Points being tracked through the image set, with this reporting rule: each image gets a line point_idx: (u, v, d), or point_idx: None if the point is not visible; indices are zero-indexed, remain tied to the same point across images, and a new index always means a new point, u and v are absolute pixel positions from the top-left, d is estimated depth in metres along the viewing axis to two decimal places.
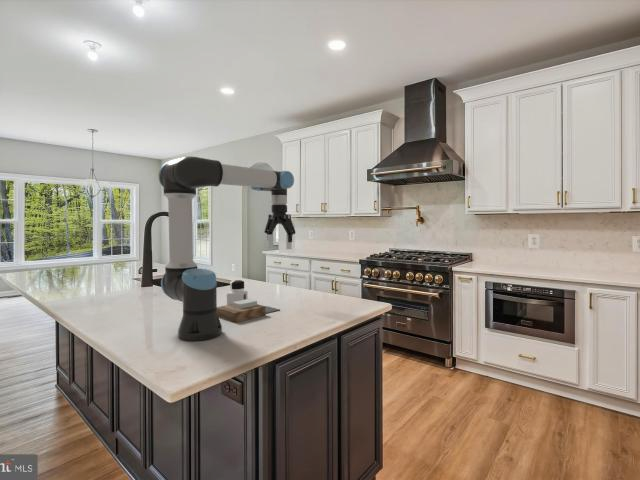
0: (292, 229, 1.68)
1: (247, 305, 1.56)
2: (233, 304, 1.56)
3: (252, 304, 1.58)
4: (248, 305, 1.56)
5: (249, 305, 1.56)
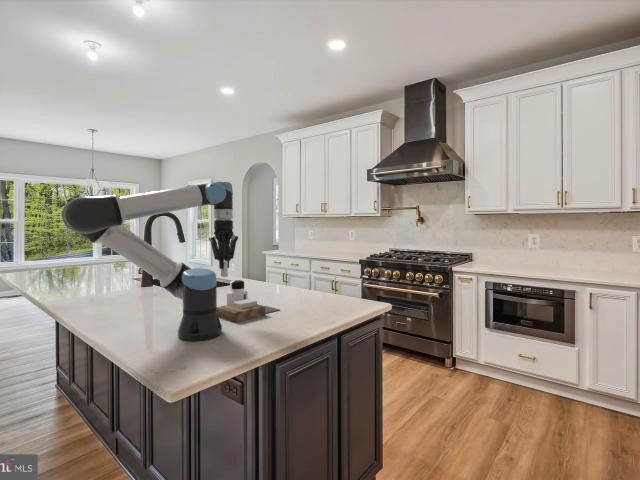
0: (215, 255, 1.47)
1: (247, 305, 1.56)
2: (233, 304, 1.56)
3: (252, 304, 1.58)
4: (248, 305, 1.56)
5: (249, 305, 1.56)
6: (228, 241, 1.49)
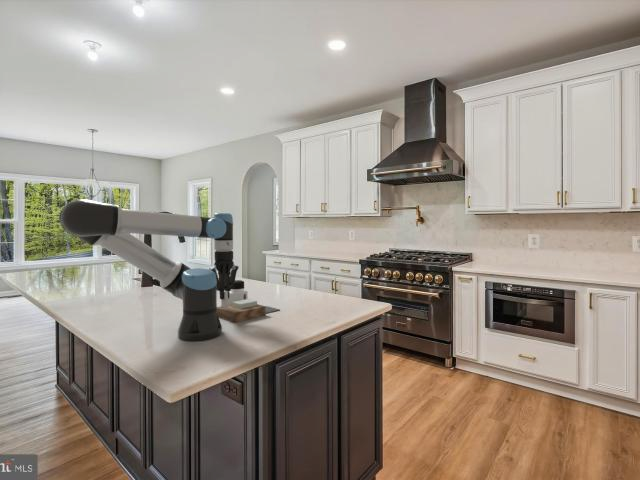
0: None
1: (247, 305, 1.56)
2: (233, 304, 1.56)
3: (252, 304, 1.58)
4: (248, 305, 1.56)
5: (249, 305, 1.56)
6: (228, 272, 1.50)
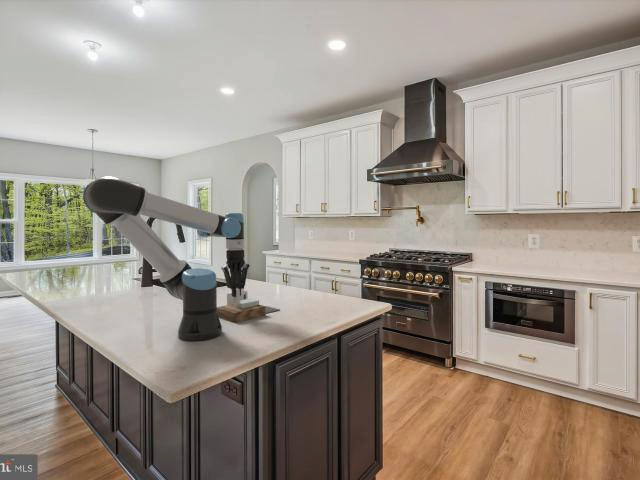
0: (227, 284, 1.52)
1: (249, 305, 1.56)
2: (235, 304, 1.57)
3: (254, 304, 1.58)
4: (250, 304, 1.57)
5: (251, 305, 1.57)
6: (240, 270, 1.54)
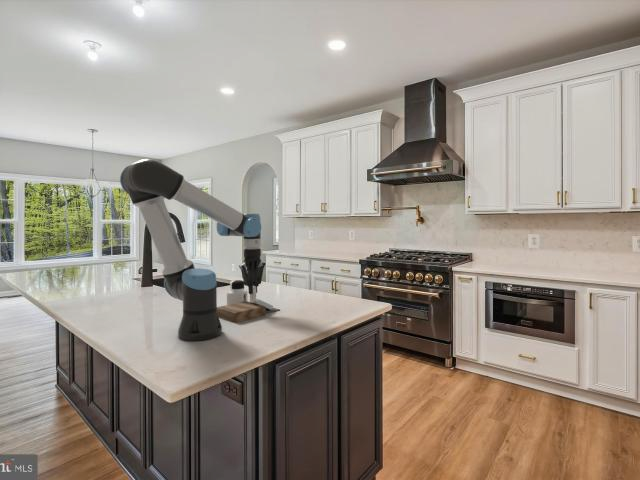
0: (245, 281, 1.58)
1: (264, 304, 1.63)
2: None
3: (268, 306, 1.64)
4: (265, 305, 1.63)
5: (266, 305, 1.63)
6: (256, 268, 1.60)
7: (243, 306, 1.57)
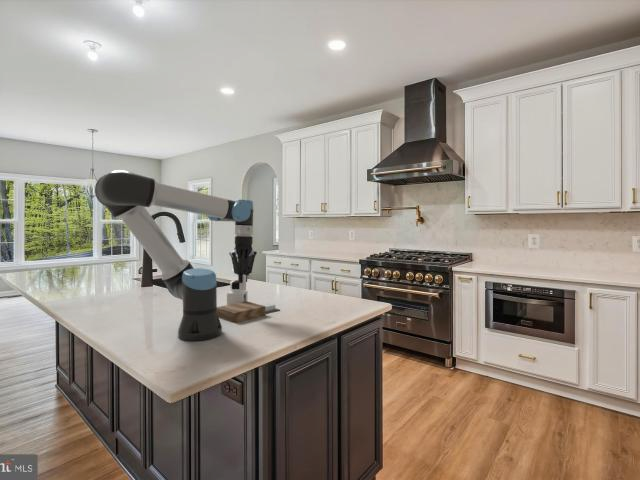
0: (235, 269, 1.53)
1: (266, 309, 1.64)
2: None
3: (271, 308, 1.66)
4: (267, 309, 1.64)
5: (268, 309, 1.64)
6: (247, 256, 1.55)
7: (243, 306, 1.57)
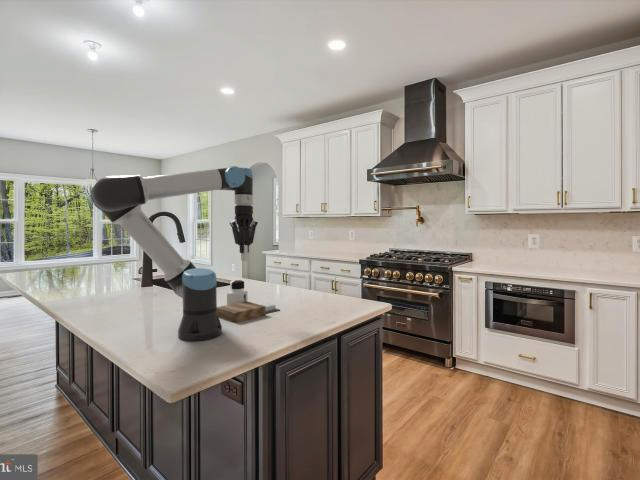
0: (235, 239, 1.50)
1: (266, 309, 1.64)
2: None
3: (271, 308, 1.66)
4: (267, 309, 1.64)
5: (268, 309, 1.64)
6: (248, 226, 1.52)
7: (243, 306, 1.57)
